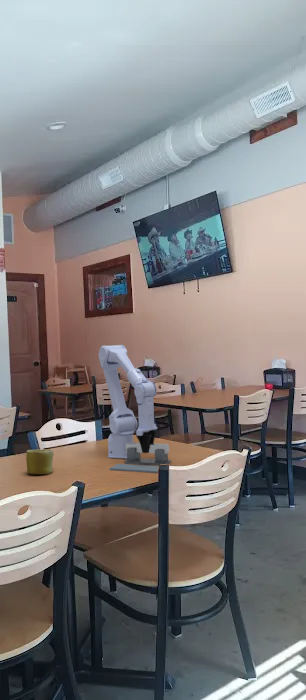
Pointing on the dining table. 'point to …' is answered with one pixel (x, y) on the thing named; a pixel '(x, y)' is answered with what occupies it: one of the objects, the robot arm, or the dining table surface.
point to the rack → (135, 459)
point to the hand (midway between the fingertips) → (147, 451)
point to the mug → (39, 461)
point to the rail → (151, 447)
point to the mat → (135, 468)
